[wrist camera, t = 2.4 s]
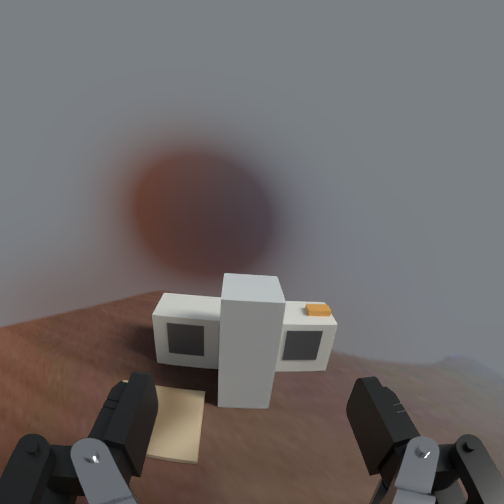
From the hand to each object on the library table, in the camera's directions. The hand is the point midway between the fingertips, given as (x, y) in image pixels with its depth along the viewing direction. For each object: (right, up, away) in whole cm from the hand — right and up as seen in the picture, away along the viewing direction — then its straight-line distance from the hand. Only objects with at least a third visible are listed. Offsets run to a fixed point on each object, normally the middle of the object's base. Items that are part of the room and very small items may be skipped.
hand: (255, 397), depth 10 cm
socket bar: (-1, -6, +20) cm, 21 cm away
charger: (-1, -7, +16) cm, 18 cm away
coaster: (-8, -9, +10) cm, 15 cm away
